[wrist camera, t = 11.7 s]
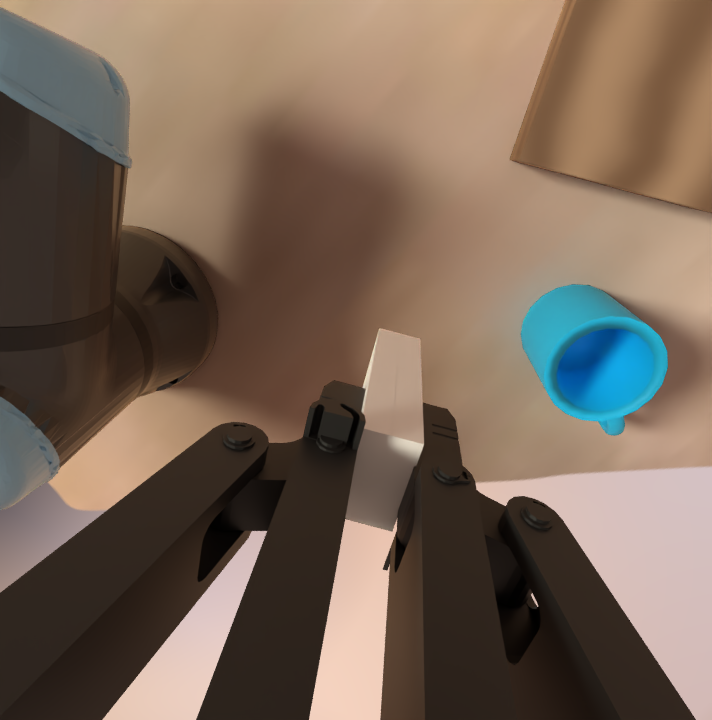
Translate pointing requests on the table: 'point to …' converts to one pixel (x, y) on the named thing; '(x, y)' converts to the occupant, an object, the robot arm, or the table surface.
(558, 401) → the mug
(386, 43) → the table surface
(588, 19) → the brown square slab
